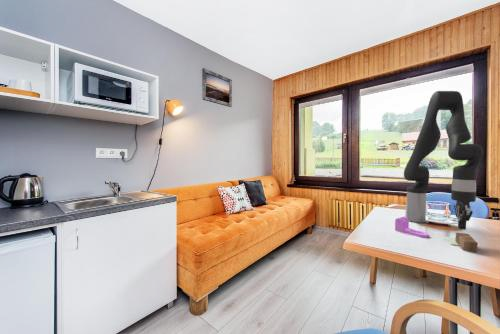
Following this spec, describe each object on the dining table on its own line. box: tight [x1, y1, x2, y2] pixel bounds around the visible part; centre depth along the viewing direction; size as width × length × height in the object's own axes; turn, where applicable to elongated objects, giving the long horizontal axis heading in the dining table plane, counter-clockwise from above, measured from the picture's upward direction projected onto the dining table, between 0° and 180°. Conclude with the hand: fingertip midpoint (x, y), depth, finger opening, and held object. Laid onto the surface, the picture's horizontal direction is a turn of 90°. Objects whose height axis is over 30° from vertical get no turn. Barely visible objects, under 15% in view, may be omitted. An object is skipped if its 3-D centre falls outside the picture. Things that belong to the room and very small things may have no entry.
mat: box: [443, 236, 481, 250], centre depth 92 cm, size 9×10×1 cm
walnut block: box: [454, 232, 479, 253], centre depth 87 cm, size 4×4×9 cm
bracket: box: [394, 216, 430, 239], centre depth 104 cm, size 13×6×7 cm, turn 30°
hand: (461, 228), depth 91 cm, fingers closed
